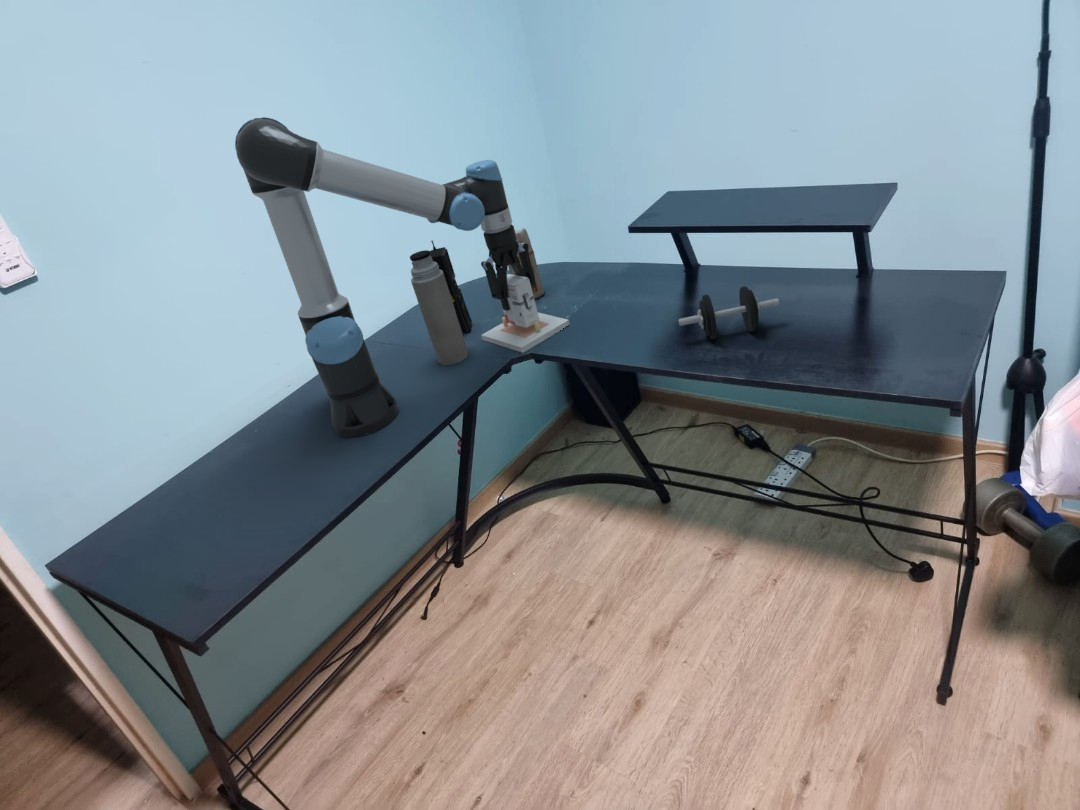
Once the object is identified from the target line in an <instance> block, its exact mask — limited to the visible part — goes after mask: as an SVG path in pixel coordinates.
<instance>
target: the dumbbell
mask: <svg viewBox="0 0 1080 810" xmlns="http://www.w3.org/2000/svg"><path fill="white" fill-rule="evenodd" d="M738 297H739V306H736V307H732V308H726V309H722V310H718V311H717V310H716V311H715V310H714V306H713V303H712V299H711V298H710V296H709V294H703V295H702V296H701V300H699V302H698V303H699V308H698V309H697V314H696V315H691V316H687V317H682V318H679V319H678V320H677V321H678V325H679V326H682V327H683V326H686V325H692V324H696V323H698V324H699V326H700V328H701V330H703V332H704V334H705V336H706V337H709V339H710V340H716V339H717V337H718V336H717V335H718V329H717V328H718V327H717V321H716V319H717V318H723V317H726V316H727V317H728V316H733V315H738V314H741V317H742V319H743V322H744V323H743V324H744V326H745V328H746V330H747V331H748V332H751V333H752V332H754V331H755V330H756V327H757V326H758V325H759V318H760V317H761V316H760V310H765V309H769V308H772V307H779V305H780V301H779V298H772V299H767V300H762V301H759V300H758V298H757V297H756V296H755V294H754V292H753V290H752V289H749V287H748V286H746V285H745V286H744V285H743V286H742V287H740V288H739V296H738ZM758 301H759V302H758Z"/></svg>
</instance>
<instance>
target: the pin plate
mask: <svg viewBox="0 0 1080 810" xmlns="http://www.w3.org/2000/svg"><path fill="white" fill-rule="evenodd" d="M538 316H539V319H540V321H537V322H534V324H532V325H531V326H529V327H527V328H526V327H522V326H518V325H514V324H510V323H507V322H506V319H505V316H502V317H501V320H502V321H501V322H502V323H500V324H498V325H496V326H495V327H493V328H492V329H489V330H488V331H486V332H484V333H482V334H481V339H482V341H485V342H488V343H492V344H493V345H496V346H497V345H498V346H501V347H504V348H506V349H509V350H513V351H515V352H520V353H522V354H524V353H526V352H527V351H528V350H530V349H532V348H534V347H535V346H537V345H538V344H540V343H542V342H543V341H546V340H547V339H549V338H550V337H552V336H554V335H556V334H557V333H560V332H561V331H562V330H564V329H566V328H567V327H566V326H568V325H569V326H570V320H569V319H567V318H562V317H559V316H554V315H550V314H546V313H543V312H542V313H541V312H538ZM569 326H568V327H569ZM565 327H566V328H565ZM563 328H564V329H563ZM560 330H561V331H560ZM555 333H556V334H555Z"/></svg>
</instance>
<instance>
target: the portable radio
mask: <svg viewBox="0 0 1080 810" xmlns="http://www.w3.org/2000/svg"><path fill="white" fill-rule="evenodd" d="M430 243H432V244H431V245H432V249H431V250H429V251H430V256H431V257H432V260H433V261H434V262H437V264H438V265H439V269H440V270H442V271H443V273H444V276H445V280H446V283H447V286H448V289H449V292H450V296H451V299H452V302H453V305H454V308H455V312H456V315H457V318H458V321H459V324H460V327H461V331H462V334H463V335H466V334H469V333H470V331H471V328H472V322H473V320H472V318H471V315H470V313H469V310H468V307H467V305H466V301H465V299H464V296H463V292H462V290H461V288H459V286H458V283H457V281H456V274H455V270H454V266H453V264H452V261H451V258H450V255H449V252H448V249H447V248H446V247H445V246H444V247H439V248H437V247H436V246H435V244H434V240H431V241H430Z"/></svg>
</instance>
